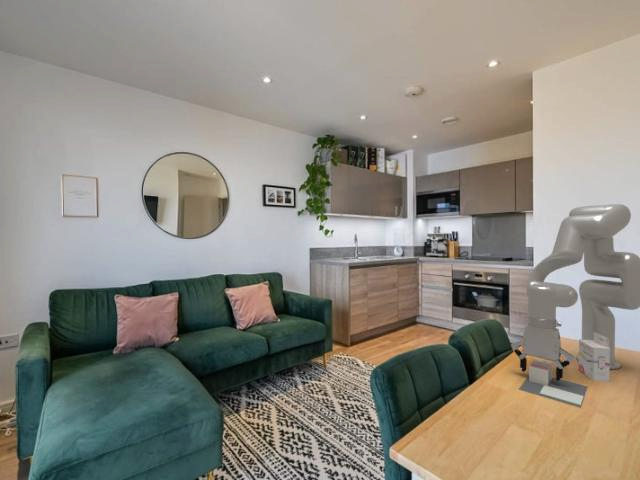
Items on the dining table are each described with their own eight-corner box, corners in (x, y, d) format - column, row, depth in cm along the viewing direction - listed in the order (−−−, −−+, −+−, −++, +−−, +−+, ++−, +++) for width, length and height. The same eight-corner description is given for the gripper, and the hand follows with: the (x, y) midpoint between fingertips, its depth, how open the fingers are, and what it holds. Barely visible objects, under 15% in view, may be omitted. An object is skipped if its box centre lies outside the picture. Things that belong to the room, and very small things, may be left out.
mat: (531, 373, 111) (531, 371, 111) (587, 388, 100) (587, 385, 100) (518, 391, 98) (518, 388, 98) (580, 410, 88) (580, 407, 88)
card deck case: (534, 373, 110) (534, 358, 110) (552, 378, 106) (552, 363, 106) (529, 381, 104) (529, 365, 104) (547, 386, 100) (547, 370, 100)
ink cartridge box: (577, 371, 113) (577, 330, 113) (593, 373, 112) (594, 331, 112) (592, 382, 105) (593, 337, 104) (610, 384, 104) (611, 338, 103)
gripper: (576, 326, 101) (575, 379, 102) (514, 316, 114) (513, 364, 114) (573, 330, 96) (572, 387, 96) (508, 319, 108) (507, 370, 108)
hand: (540, 374), depth 105 cm, fingers open, 9 cm apart
